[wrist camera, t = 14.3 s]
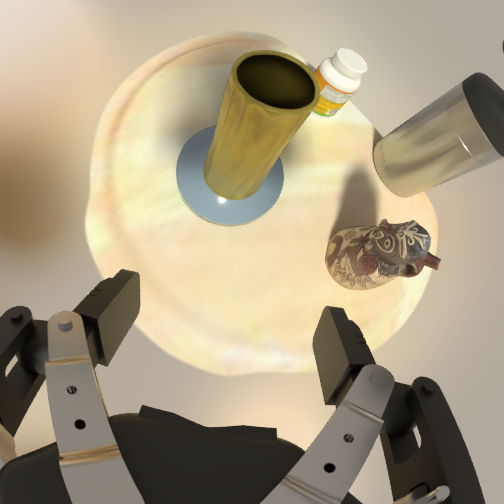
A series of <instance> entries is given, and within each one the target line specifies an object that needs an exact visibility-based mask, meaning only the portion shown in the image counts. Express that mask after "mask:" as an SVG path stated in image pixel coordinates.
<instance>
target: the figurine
mask: <svg viewBox="0 0 504 504" xmlns="http://www.w3.org/2000/svg"><path fill="white" fill-rule="evenodd" d="M430 243H431V238H430V235H429V234H428V232H427V231H426V230H425V229H424V228H423V227H421V226H420V225H419V224H418V223H417V222H416V221H414V220H412V221H410V222H406V223H400V224H389V223H388V222H387V219H383V220H381V222H380V224H379V226H368V227H366V226H354V227H350V228H347V229H343V230H339V231H338V232H337V234H335V235H334V236H333V237H332V238H331V239H330V240H329V245H328V249H327V255H326V262H325V263H326V266H327V269H328V271H329V273H330V275H331V277H332V278H333V279H334V280H335V281H336V282H337V283H338V284H339V285H341V286H343V287H345V288H348V289H351V290H368V289H372V288H376V287H379V286H381V285H383V284H386V283H388V282H390V281H391V280H393V279H394V278H396V277H397V276H403V277H413V276H416V275H418V274H419V273H420V272H421V271H422V269H423V267H424V265H425V266H428V267H430V268H433V269H435V270H438V268H439V265H440V262H441V259H439V258H438V257H436V256H434V255H432V254H431V253H430V252H428V250H429V247H430Z"/></svg>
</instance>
